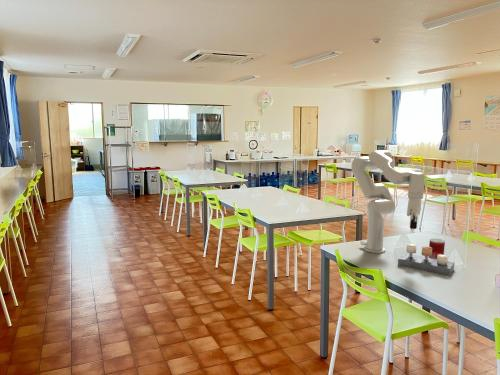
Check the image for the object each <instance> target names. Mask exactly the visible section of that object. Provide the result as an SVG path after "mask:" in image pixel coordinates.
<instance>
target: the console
mask: <svg viewBox="0 0 500 375" xmlns="http://www.w3.org/2000/svg"><path fill="white" fill-rule="evenodd" d="M409 257H410V253H407V252H406V253H405V252H404V253H403V254H402V255H401V256H400V257H398V259H397V266H399V267H403V268H408V269H412V270H419V271H423V272H427V273H431V274H436V275H441V276H445V277H447V276H448V277H450V276H451V274H452V273H453V272H454V270H455V262H454V261H447V265H441V264H438V263H437V259H433V258H429V257H428V260H427V261H425V256H423V255H416V254H412V258H409Z"/></svg>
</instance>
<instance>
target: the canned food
mask: <svg viewBox="0 0 500 375" xmlns="http://www.w3.org/2000/svg"><path fill="white" fill-rule="evenodd" d="M445 241H446V240H443V239H441V238H430V239H429V243H428V244H429V245H428V247H431V248H432V256H428V258H433V259H437V255H440V254H441V255H445V246H446V244H445V243H446V242H445Z"/></svg>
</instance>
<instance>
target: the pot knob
mask: <svg viewBox="0 0 500 375" xmlns="http://www.w3.org/2000/svg"><path fill="white" fill-rule="evenodd" d="M421 256H422V257H425V261H427V260H428V258H429V256H432V248H431V247H429V246H427V245H426V246H422V247H421Z"/></svg>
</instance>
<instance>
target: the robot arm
mask: <svg viewBox="0 0 500 375" xmlns="http://www.w3.org/2000/svg"><path fill="white" fill-rule="evenodd" d="M395 164H396V163H395V160H394V159H393V155H392V153H391V152H390V151H389V150H386V149H385V150H373V151H371V152H369V154H368V156H357V157H355V158H354V159H353V160H352V162H351V166H350V167H351V173H352V174H353V176H354V178H355V179H356V181H357V183H358V185H359V188H360V190H361V193H362V194H363V197H364V198H365V199H366V200H370V201H369V202H368V203H367V204H366V209H367V210H366V211H367V236H366V241H364V240H363V241H362V240H361V241H360V245H361V246H364V247H363V250H364V251H365V252H368V253H374V254H383V253H385V252H386V248H385V247H384V235H385V233H384V232H385V219H384V218H383V215H390V214H393V213H394V212H395V210H396V204H395V201H394V199H393V196H392V194H391V193H390V190H389V188H388V187H387V186H386V185H385V184H384V183H375V182H374V180H373V179H372V176H371V175H370V174H369V173H368V172H366V171H371V170H372V171H373V170H377V169H379V170H381V171H382V174H383V176H384V178H385V179H386V180H387V181H389V182H390V183H392V184H393V185H397V186H399V185H408V191H407V192H408V193H407V198H408V204H407V209H406V210H407V211H406V216H407V217H409V216H410V217H409V218H410V221H409V228H410V229H411V230H412V229H413V230H417V228H418V227H417V226H418V219H419V218H418V217H419V216H420V215H421V210H422V200H423V199H424V190H425V178H426V177H425V173H423V172H416V171H413V170H409V169H408V170H396V169H394V168H395V166H396V165H395Z"/></svg>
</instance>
